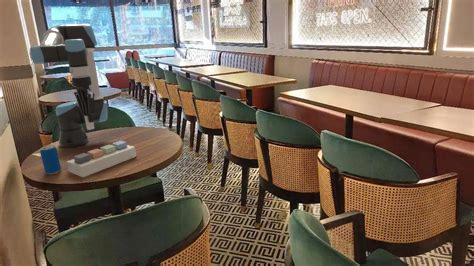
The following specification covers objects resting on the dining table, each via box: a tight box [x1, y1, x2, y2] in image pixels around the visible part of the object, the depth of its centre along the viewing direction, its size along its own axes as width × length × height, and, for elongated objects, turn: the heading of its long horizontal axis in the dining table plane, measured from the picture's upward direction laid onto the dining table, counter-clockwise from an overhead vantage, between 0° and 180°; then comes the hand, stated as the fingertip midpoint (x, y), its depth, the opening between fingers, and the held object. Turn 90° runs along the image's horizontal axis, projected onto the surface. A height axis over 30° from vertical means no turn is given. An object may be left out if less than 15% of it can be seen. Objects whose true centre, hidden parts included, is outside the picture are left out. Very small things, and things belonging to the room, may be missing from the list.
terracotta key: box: [87, 148, 104, 159], centre depth 153 cm, size 5×5×3 cm
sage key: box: [99, 144, 116, 155], centre depth 158 cm, size 5×5×3 cm
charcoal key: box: [73, 152, 91, 164], centre depth 148 cm, size 5×5×3 cm
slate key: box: [111, 140, 128, 150], centre depth 163 cm, size 5×5×3 cm
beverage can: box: [39, 144, 62, 175], centre depth 148 cm, size 6×6×12 cm
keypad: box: [66, 144, 137, 178], centre depth 156 cm, size 12×28×5 cm, turn 143°
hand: (90, 128), depth 149 cm, fingers closed
